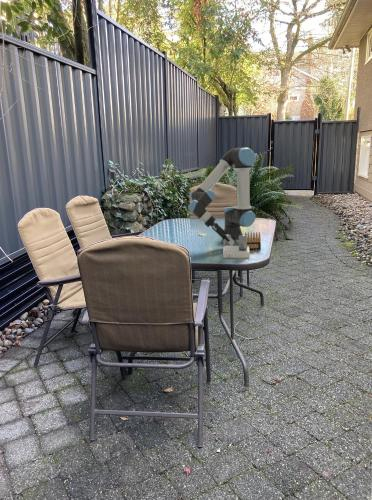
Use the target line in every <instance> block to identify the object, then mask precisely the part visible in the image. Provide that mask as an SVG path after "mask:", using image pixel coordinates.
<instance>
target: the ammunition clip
mask: <svg viewBox="0 0 372 500" xmlns="http://www.w3.org/2000/svg"><path fill="white" fill-rule="evenodd" d="M244 235H247V246H249V251H260V250H262V245H261V244H262V243H261V240H262V239H261V232H260V231H256V232H255V231H253V232H252V231H251V232H249V231H248V232H244Z"/></svg>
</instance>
